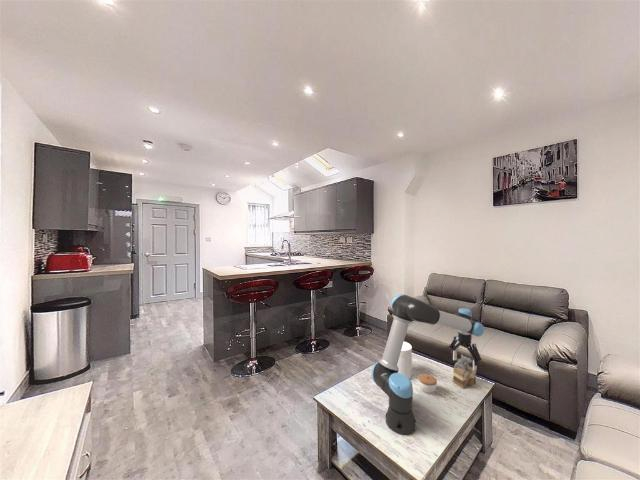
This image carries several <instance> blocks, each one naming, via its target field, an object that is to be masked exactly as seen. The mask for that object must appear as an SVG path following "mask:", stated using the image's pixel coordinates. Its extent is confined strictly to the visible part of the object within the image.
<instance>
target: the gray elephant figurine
mask: <svg viewBox="0 0 640 480" xmlns="http://www.w3.org/2000/svg"><path fill="white" fill-rule="evenodd" d="M455 361H456V362H455V364H454V367H455V368H456V367H460V368H462V369H463V372H464V373H465V372H466V370H465V366H466V368H467V370H468V371H469V370H470V369H469V366H470V364H473V359H471V357H467V356H464V355H463V354H461V355H460V358H458V357H457V358H456V360H455Z"/></svg>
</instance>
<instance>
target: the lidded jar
mask: <svg viewBox="0 0 640 480" xmlns="http://www.w3.org/2000/svg"><path fill="white" fill-rule="evenodd" d="M417 381H418V386H419V388H420V390H421V391H422V392H423V393H425V394H428V395H429V394H432V393H434V392H435V391H436V389H437V381H438V380H437V378H436V377H435V376H433V375H431V374H428V373H420V374H418V376H417Z"/></svg>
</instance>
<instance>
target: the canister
mask: <svg viewBox="0 0 640 480" xmlns="http://www.w3.org/2000/svg"><path fill="white" fill-rule="evenodd" d="M412 351H413V347H412V345H411V343H409V342H407V341H404V342H403V346H402V349H401V353H400V356H399V360H398V363H397V366H398V368H399V371H398V373H400V374H401V375H405V376H407V377H408V378H409V379H410V380H411V378H412V374H413V373H412V371H413V370H412V369H413V368H412V367H413V364H412V363H413V361H412V360H413V358H412V357H413V356H412Z"/></svg>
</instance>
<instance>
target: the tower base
mask: <svg viewBox="0 0 640 480" xmlns="http://www.w3.org/2000/svg"><path fill="white" fill-rule="evenodd" d="M476 378H477V376H476V377H475V378H471V379H468V380H465V381H462V380H460V379H459V378H457V377H456V376H454V375H453V379H452V380H453V381H452V382H453V384H454V385H457V386H458V387H460V388H462V389H465V388H469V387H471V386H473V385H476V384H477V381H476V380H477V379H476Z"/></svg>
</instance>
